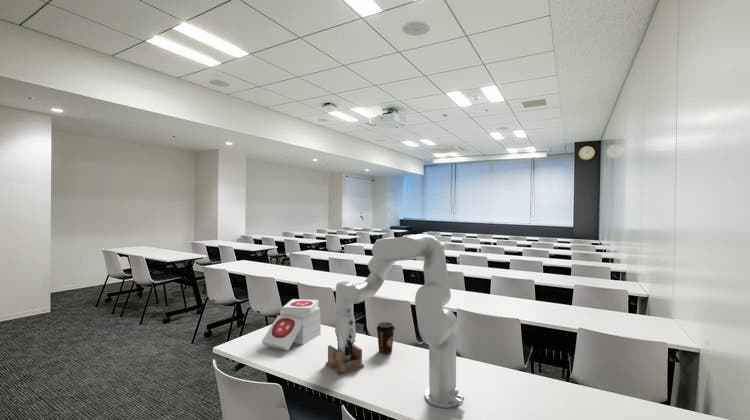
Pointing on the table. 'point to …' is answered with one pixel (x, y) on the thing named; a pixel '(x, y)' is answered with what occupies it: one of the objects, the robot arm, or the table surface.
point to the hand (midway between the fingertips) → (344, 352)
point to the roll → (343, 347)
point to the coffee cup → (385, 337)
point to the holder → (338, 360)
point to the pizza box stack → (295, 324)
